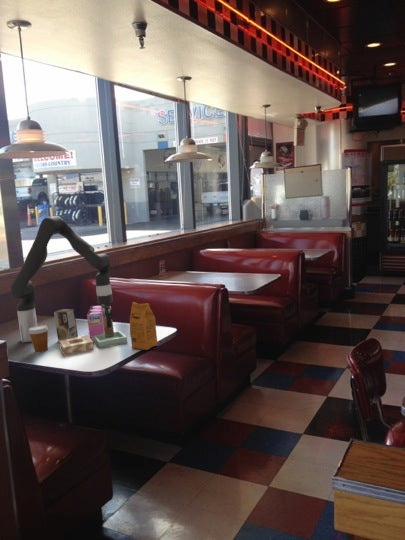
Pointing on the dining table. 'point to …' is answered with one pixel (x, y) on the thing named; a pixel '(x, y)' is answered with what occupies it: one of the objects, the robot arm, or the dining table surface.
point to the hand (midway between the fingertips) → (108, 326)
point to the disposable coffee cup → (39, 337)
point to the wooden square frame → (76, 345)
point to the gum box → (95, 321)
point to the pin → (108, 331)
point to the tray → (110, 339)
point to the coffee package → (142, 327)
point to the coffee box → (65, 324)
